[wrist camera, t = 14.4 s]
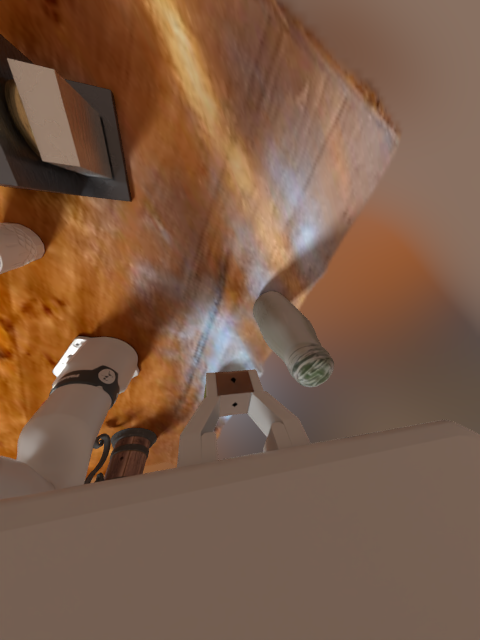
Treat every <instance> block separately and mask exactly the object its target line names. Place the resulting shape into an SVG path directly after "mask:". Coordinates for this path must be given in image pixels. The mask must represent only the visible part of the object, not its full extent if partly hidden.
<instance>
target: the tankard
mask: <svg viewBox="0 0 480 640" xmlns="http://www.w3.org/2000/svg"><path fill="white" fill-rule="evenodd" d="M100 438H101V440H100V441H99V439H100ZM156 440H157V436H156V434H155V433H154V432H152V431H150V430H148V429H143V428H129V429H124V430H121V431H119V432H117V433H115V434H114V435H113V436H112V438H111V440H110V437H109V435H107V434H101V435H100V436H98V437H96V440H95V443H94V446H93V448H95V449H97V448H99V447H101V446H102V445H103V444H104V451H103V454H102V457H101V460H100V462H99V463H98V465H97V466H96V468H95V469H94V470H93V471H92V472H91V473H90V474H89V475H88V477H87V478H86V480H85V482H84V484H89V483H90V482H91V480H92V478H93V476H94V475H95V473H96V472H97V471H98V470H99V469H100V468H101V467H102V465H103V464H104V462H105V460H106V458H107V456H108V453H109V450H110V444H111V443H112V446H113V448H114V449H113V451H112V453H111V456H110V462H109V465H108V468H107V471H106V474H105V477H104V476H103V474H102V473H99V474H98V475H97V478H96V481H95V482H100V481H106V480H111V479H117V478H123V477H128V476H134V475H139V474H143V470H144V466H145V462H146V459H147V457H148V453H149V448H150V447H151V446H152V445H153V444H154V443H155V442H156ZM98 441H99V442H100V444H99V442H98ZM95 482H94V483H95Z"/></svg>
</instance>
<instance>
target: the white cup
mask: <svg viewBox="0 0 480 640" xmlns="http://www.w3.org/2000/svg"><path fill="white" fill-rule="evenodd" d="M44 252H45V250H44V244H43V242H42V241H41V239H40V238H39V236H38V235H37V234H35V233H34V232H33V231H32V230H31V229H29V228H27V227H25V226H22V225H20V224H16V223H0V274H2V273H5V272H7V271H10V270H13V269H16V268H18V267H21V266H24V265H26V264H29V263H30V262H32V261H35V260H37V259H40V258H42V256H43V254H44Z"/></svg>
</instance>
